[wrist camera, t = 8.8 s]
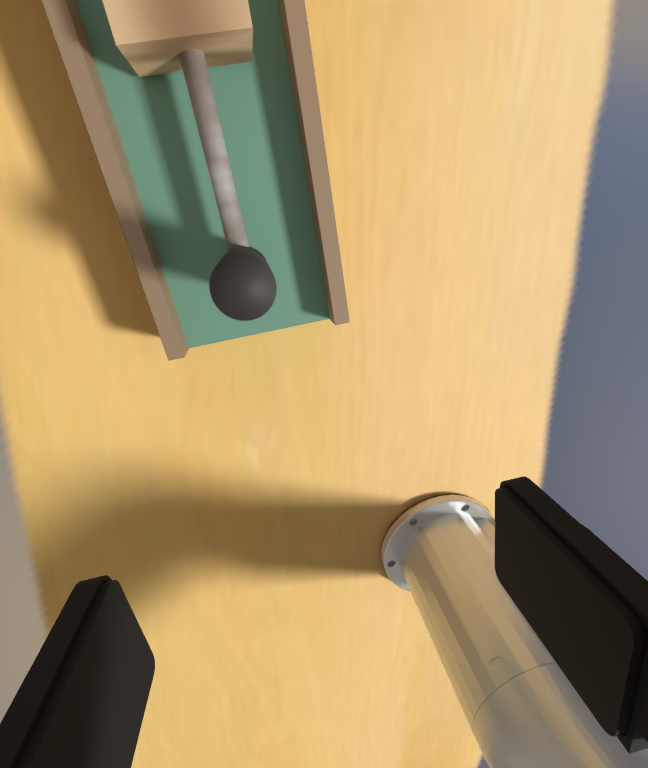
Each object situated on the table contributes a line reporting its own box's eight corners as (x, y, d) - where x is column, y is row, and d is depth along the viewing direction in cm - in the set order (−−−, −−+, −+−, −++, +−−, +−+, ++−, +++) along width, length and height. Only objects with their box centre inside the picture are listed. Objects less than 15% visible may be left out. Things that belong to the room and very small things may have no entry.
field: (257, -198, 19) (261, -326, 15) (335, 308, 30) (351, 323, 25) (6, -180, 18) (-74, -314, 14) (179, 341, 29) (167, 363, 24)
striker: (238, -12, 20) (232, -151, 12) (294, 283, 26) (313, 307, 18) (117, 3, 19) (36, -135, 12) (204, 301, 25) (187, 333, 18)
